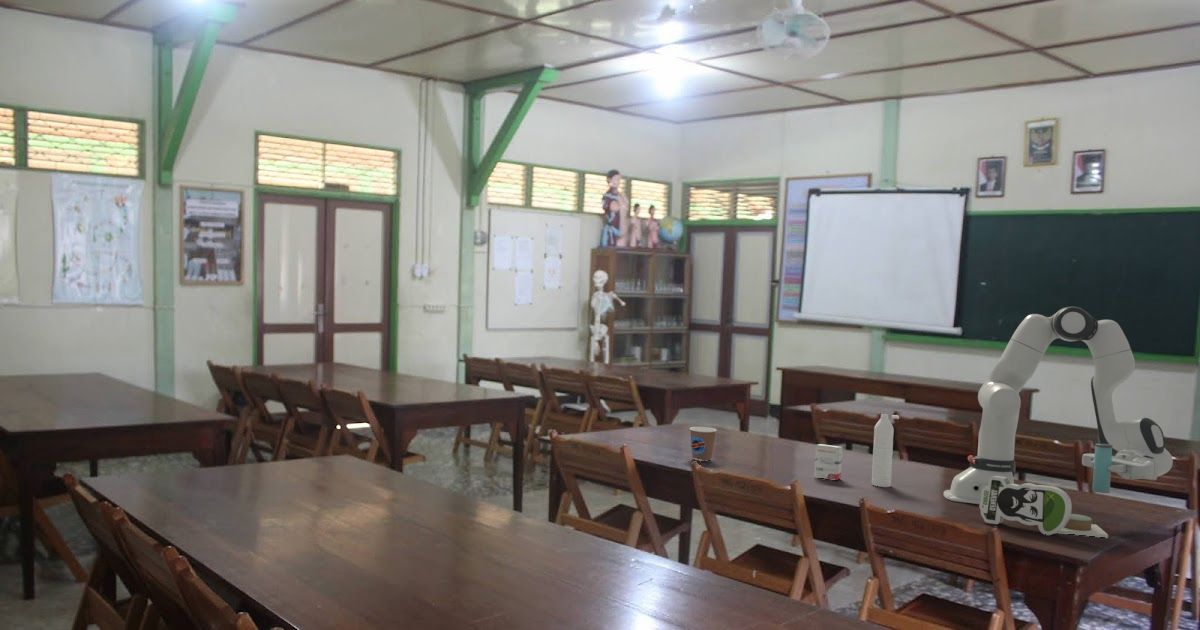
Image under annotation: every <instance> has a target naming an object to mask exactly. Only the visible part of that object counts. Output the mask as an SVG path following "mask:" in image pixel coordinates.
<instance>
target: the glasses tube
mask: <svg viewBox="0 0 1200 630" xmlns="http://www.w3.org/2000/svg"><path fill="white" fill-rule="evenodd" d="M1112 447H1113V446H1112V445H1109V444H1101V443H1099V442H1096V443H1095V444H1094V454H1095V457H1094V468H1093V473H1092V474H1093V478H1092V492H1096V493H1101V494H1109V493H1110V491H1111V476H1112V472H1111V471H1108V470H1107V469H1108V465H1111V460H1112Z"/></svg>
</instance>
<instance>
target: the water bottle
mask: <svg viewBox="0 0 1200 630" xmlns="http://www.w3.org/2000/svg"><path fill="white" fill-rule="evenodd" d="M880 415H881V416H880V418H879V420H878V421H877V422H876V424H875V425H874V429H873V430H874V431H873V448H872V449H873V450H872V466H871V467H872V468H871V469H872V472H871V485H872V486H873V485H874V487H877V486H878V488H881V487H882V488H890V487H891V486H892V471H893V470H892V469H893V467H892V466H893V451H894V450H893V447H894V435H895V434H894V431H895V430H894V425H893V424H892V422H891V421H890V419H889V414H887V413H881V414H880ZM891 419H895V420H899V419H900V415H896V414H895V415H894V414H892V415H891Z"/></svg>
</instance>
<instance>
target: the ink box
mask: <svg viewBox="0 0 1200 630" xmlns="http://www.w3.org/2000/svg"><path fill="white" fill-rule="evenodd" d="M814 454H815V455H814V471H813V477H814V476H816V477H822V478H828V479H835V480H838V479H840V478H841V479H842V465H843V446H838V445H830V444H823V443H819V444H818V443H817V444H816V445H815V453H814ZM841 479H840V480H841ZM838 481H839V480H838Z"/></svg>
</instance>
